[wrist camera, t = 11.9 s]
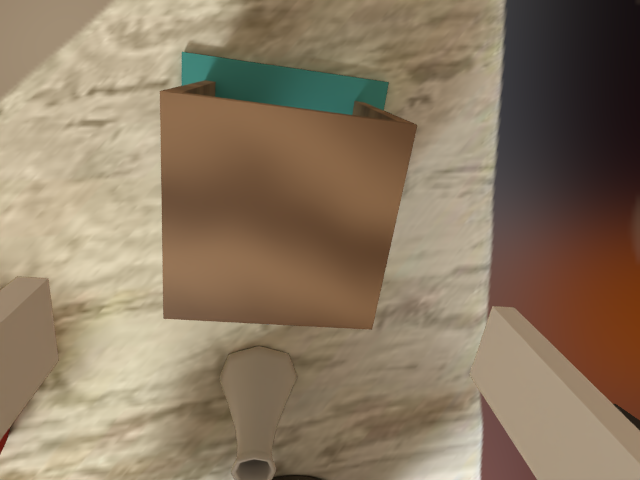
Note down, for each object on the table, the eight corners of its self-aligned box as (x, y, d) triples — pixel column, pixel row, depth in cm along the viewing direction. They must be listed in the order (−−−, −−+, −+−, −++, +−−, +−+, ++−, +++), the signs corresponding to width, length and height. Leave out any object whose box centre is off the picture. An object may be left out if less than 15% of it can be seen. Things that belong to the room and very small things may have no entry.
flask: (218, 344, 36) (199, 438, 27) (298, 343, 37) (306, 434, 28) (220, 405, 39) (204, 508, 30) (295, 403, 40) (301, 503, 31)
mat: (353, 257, 34) (355, 260, 34) (182, 244, 32) (181, 247, 32) (386, 81, 29) (388, 82, 28) (183, 52, 27) (181, 51, 26)
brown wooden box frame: (340, 243, 33) (371, 329, 22) (201, 231, 31) (163, 318, 21) (364, 102, 29) (417, 125, 18) (204, 80, 27) (160, 91, 16)
